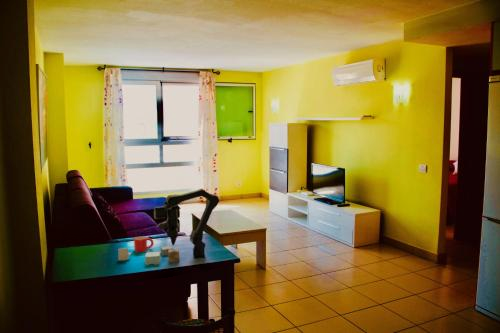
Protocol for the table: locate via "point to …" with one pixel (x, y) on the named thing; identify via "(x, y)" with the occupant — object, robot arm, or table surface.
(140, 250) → the mug
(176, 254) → the walnut cube
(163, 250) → the tan wooden block
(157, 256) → the plinth block
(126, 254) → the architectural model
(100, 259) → the table surface
